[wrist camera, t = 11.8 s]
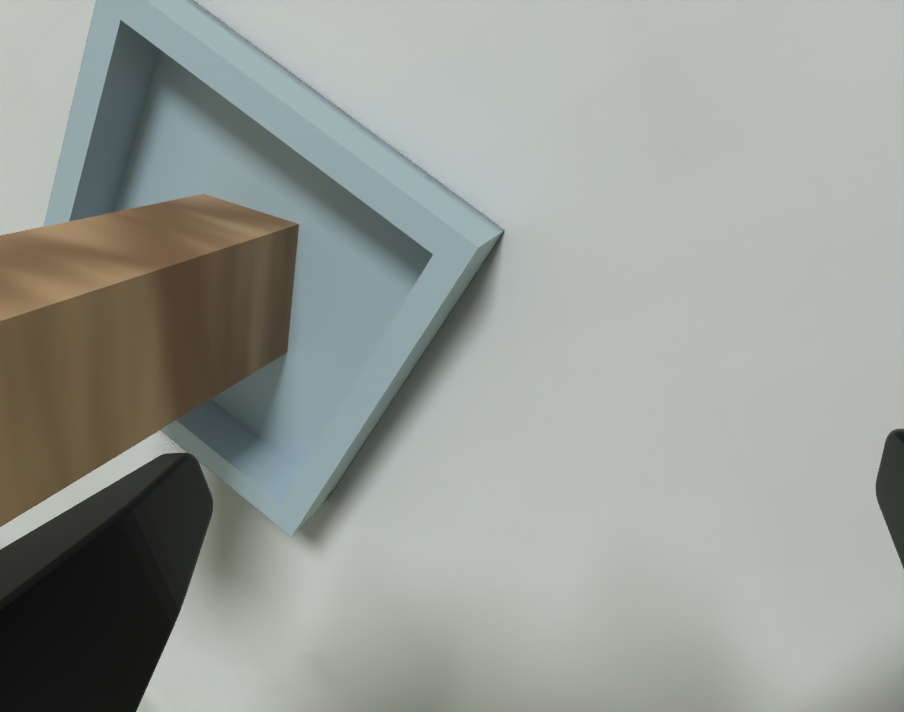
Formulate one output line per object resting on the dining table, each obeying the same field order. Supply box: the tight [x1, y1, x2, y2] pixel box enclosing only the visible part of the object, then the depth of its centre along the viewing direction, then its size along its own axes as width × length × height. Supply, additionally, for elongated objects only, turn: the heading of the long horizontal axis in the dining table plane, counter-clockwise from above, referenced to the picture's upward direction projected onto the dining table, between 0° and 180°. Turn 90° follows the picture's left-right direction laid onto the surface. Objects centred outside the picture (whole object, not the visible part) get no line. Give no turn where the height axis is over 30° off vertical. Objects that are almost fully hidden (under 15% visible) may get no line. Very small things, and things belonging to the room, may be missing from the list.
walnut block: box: [0, 194, 299, 527], centre depth 19 cm, size 4×5×13 cm
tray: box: [44, 0, 504, 537], centre depth 24 cm, size 14×14×2 cm
